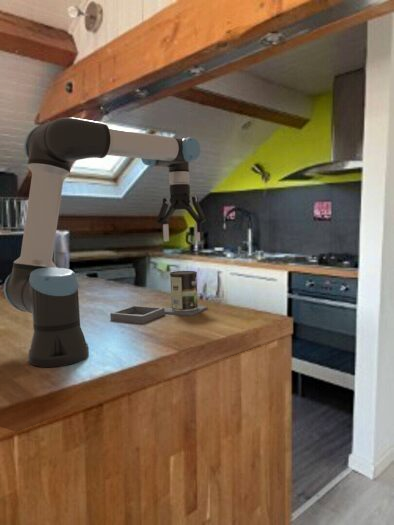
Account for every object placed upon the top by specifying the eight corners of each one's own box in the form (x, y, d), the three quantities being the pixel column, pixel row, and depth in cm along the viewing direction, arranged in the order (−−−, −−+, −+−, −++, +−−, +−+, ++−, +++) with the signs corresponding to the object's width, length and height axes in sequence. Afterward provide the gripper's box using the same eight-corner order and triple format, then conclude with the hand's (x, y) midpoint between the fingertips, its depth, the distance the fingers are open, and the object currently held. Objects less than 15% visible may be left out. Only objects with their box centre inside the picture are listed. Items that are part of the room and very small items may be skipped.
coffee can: (200, 305, 167) (199, 270, 165) (195, 312, 157) (194, 274, 155) (174, 305, 169) (173, 270, 167) (168, 311, 159) (166, 274, 157)
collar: (142, 323, 146) (142, 316, 145) (110, 320, 152) (110, 313, 152) (164, 314, 158) (164, 307, 158) (134, 311, 164) (133, 305, 164)
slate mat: (191, 315, 154) (191, 313, 154) (161, 313, 160) (161, 311, 160) (207, 308, 166) (207, 306, 166) (178, 306, 172) (178, 304, 172)
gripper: (214, 182, 155) (215, 240, 158) (157, 186, 167) (159, 240, 169) (204, 181, 149) (206, 241, 151) (146, 185, 160) (148, 242, 163)
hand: (181, 241), depth 160 cm, fingers open, 13 cm apart
